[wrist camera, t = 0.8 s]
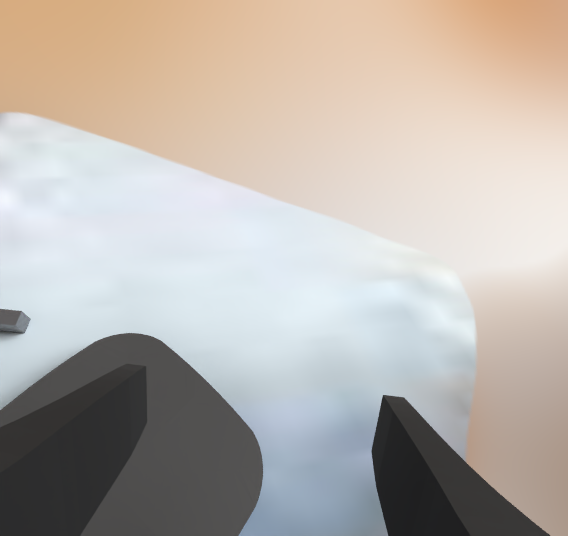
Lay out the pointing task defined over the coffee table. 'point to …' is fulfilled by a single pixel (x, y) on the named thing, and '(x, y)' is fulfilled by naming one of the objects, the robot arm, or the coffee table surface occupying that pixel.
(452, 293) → the coffee table surface
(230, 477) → the media streaming box
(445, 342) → the coffee table surface
